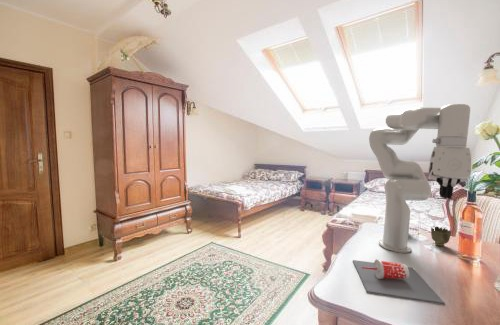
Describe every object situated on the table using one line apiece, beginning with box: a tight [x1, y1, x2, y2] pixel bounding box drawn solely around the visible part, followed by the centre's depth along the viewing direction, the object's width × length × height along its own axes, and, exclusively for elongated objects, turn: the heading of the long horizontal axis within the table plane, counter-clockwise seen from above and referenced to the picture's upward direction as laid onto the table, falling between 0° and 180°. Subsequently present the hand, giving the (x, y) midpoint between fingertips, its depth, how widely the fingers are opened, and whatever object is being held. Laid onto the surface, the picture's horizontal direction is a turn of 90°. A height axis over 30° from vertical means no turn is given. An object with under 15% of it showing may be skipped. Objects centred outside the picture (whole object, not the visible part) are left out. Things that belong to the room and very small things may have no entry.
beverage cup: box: [362, 259, 409, 279], centre depth 80 cm, size 6×6×14 cm
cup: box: [430, 226, 452, 248], centre depth 110 cm, size 8×7×8 cm
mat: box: [352, 259, 445, 306], centre depth 80 cm, size 20×21×1 cm
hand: (445, 197), depth 78 cm, fingers closed
